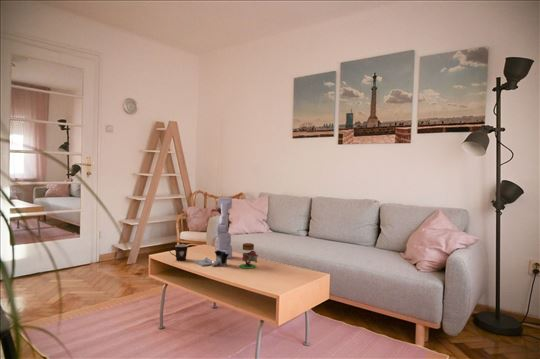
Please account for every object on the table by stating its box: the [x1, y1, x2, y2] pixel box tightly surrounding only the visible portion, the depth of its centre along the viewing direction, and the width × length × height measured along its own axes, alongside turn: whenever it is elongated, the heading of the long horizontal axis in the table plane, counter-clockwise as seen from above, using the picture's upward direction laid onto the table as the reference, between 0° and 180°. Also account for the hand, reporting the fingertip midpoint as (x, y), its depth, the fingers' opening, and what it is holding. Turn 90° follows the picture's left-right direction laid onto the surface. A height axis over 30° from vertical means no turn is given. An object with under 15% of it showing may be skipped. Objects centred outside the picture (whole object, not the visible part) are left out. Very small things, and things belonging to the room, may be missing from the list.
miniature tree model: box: [239, 242, 259, 270], centre depth 238 cm, size 12×13×15 cm
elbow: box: [210, 255, 228, 267], centre depth 239 cm, size 10×5×6 cm, turn 129°
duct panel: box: [193, 256, 214, 267], centre depth 243 cm, size 11×12×4 cm
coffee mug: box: [169, 243, 189, 262], centre depth 250 cm, size 12×9×10 cm
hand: (221, 262), depth 241 cm, fingers closed on elbow, 5 cm apart
